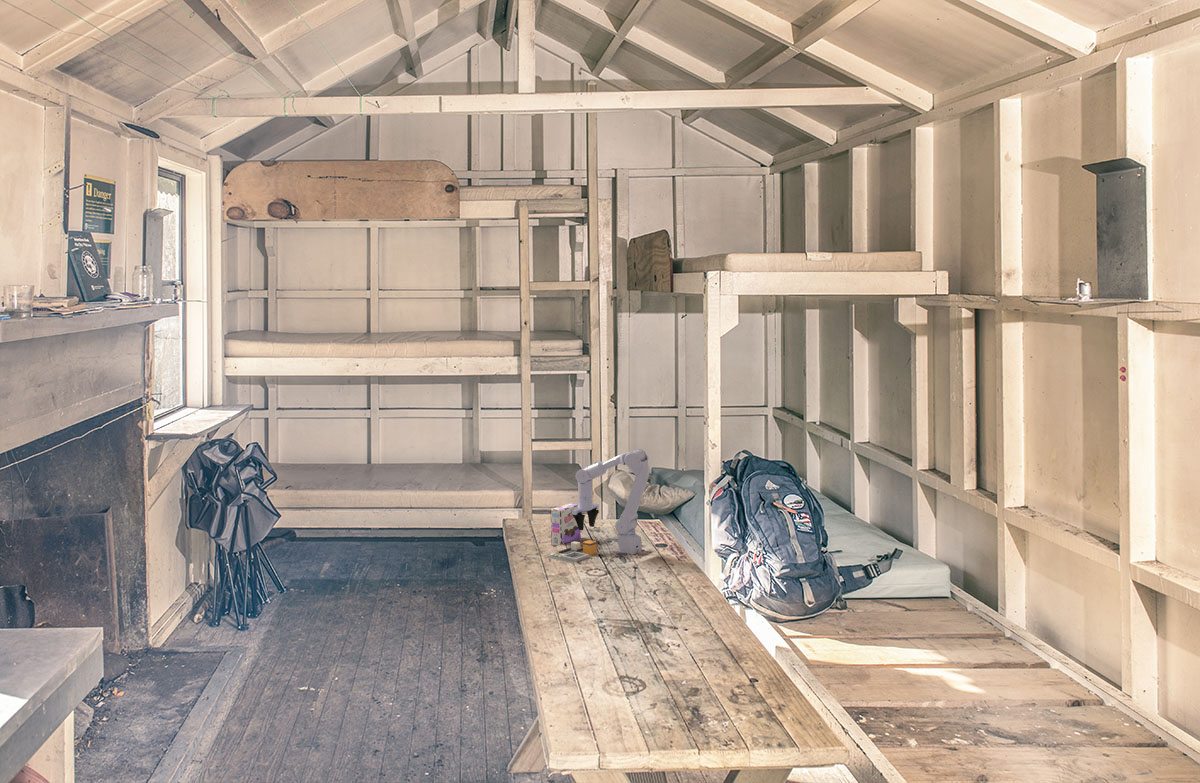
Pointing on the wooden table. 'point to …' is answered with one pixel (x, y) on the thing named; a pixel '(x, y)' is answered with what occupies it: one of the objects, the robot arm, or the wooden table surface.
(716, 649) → the wooden table surface
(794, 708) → the wooden table surface
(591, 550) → the cap
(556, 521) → the candy box
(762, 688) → the wooden table surface
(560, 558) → the breaker panel
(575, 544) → the switch
